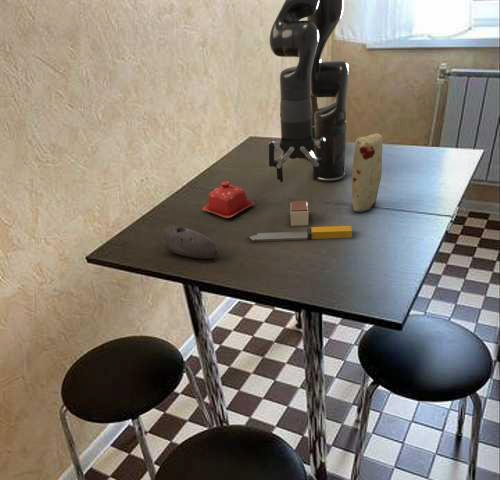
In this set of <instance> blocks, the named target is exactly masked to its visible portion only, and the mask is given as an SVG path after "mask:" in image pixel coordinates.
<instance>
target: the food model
mask: <svg viewBox="0 0 500 480" xmlns="http://www.w3.org/2000/svg"><path fill="white" fill-rule="evenodd" d="M382 169H383V137H382V135H381V134H380V133H371V134H368V135H366V136H365V135H364V136H359V137H357V138H356V139H355V142H354V152H353V162H352V170H351V201H352V208H353V211H354V212H365V211H369V210H370V209H372V208H373V207H375V206H376V204H377V199H378V193H379V189H380V185H381V181H382Z"/></svg>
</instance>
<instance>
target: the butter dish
mask: <svg viewBox="0 0 500 480" xmlns="http://www.w3.org/2000/svg"><path fill="white" fill-rule="evenodd" d="M254 204H255V202H254V201H252V200H250V199H248V196H247V194H246V191H245V190H244V189H243V188H242V187H239V186H237V185H233V184H231V182H230V181H227V180H225V181H222V182H221V183H220V186H218V187H217V188H214V189H213V190H212V191H211V192H210V193H209V194H208V204H206V205H205V206H203V207H202V210H203V211H205V212H207V213H210V214H214V215H217V216H218V217H221V218H224V219H231V218H232V217H235V216H236V215H237V214H240V213H241V212H243V211H245V210H247V209H248V208H250V207H252V206H253V205H254Z"/></svg>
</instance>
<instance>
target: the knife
mask: <svg viewBox="0 0 500 480" xmlns="http://www.w3.org/2000/svg"><path fill="white" fill-rule="evenodd" d="M351 238H353V228H352V225H336V226H335V225H334V226H332V225H331V226H311V227H308V228H307V231H281V232H275V231H274V232H257V233H256V234H254V235H251V236H249V240H250V241H251V242H252V243H255V242H257V243H259V242H282V241H285V242H286V241H308V240H321V239H322V240H323V239H324V240H325V239H326V240H327V239H351Z"/></svg>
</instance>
